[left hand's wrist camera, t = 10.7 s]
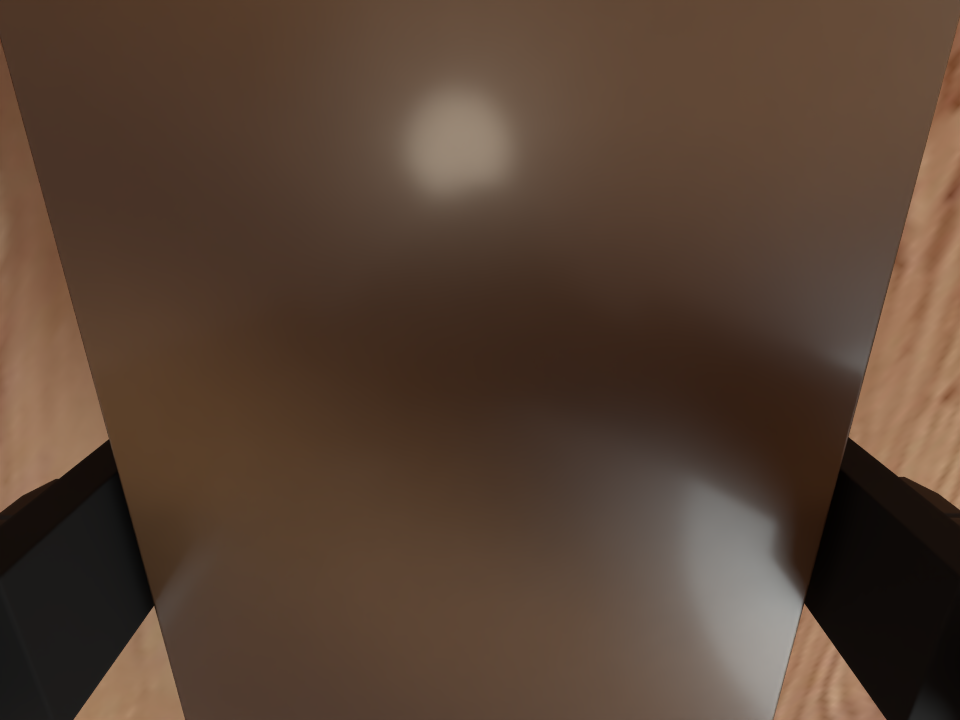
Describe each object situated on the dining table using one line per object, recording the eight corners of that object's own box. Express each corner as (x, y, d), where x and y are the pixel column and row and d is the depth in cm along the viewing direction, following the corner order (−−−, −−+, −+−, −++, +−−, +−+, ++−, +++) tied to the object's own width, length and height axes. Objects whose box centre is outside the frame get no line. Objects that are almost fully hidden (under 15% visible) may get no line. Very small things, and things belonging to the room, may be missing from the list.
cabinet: (213, -291, 11) (-343, -1206, 4) (740, -292, 11) (1289, -1203, 4) (316, 511, 18) (198, 776, 10) (642, 511, 18) (759, 774, 10)
